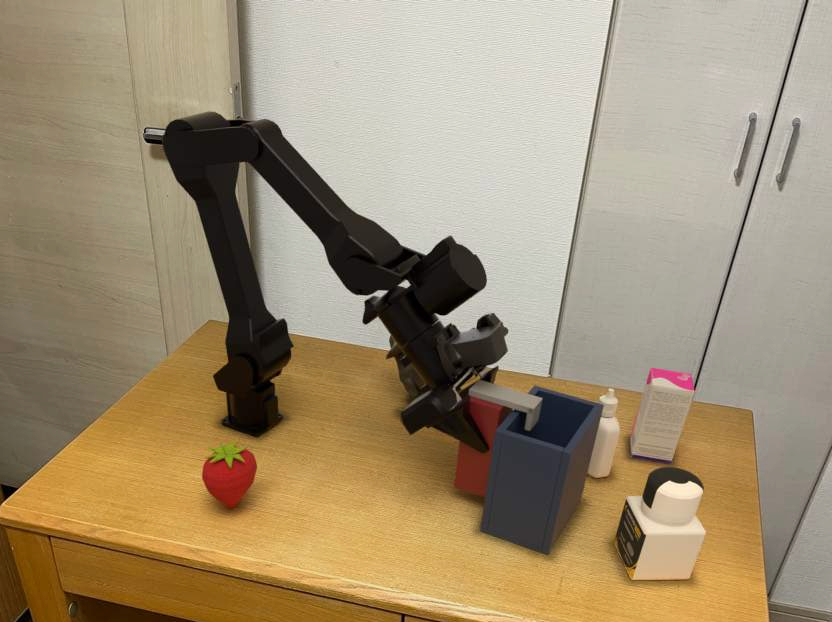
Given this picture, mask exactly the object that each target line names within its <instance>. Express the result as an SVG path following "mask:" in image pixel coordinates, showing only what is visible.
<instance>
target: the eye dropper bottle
mask: <svg viewBox="0 0 832 622" xmlns="http://www.w3.org/2000/svg"><path fill="white" fill-rule="evenodd" d="M597 403H599V404H603V405H604V407H603V411H602V415H601V419H600V423H599V427H598V431H597V436H596V440H595V444H594V448H593V452H592V456H591V460H590V464H589V469H588V473H587V475H589V476H590V477H592V478H595V479H600V478H605V477H609V476H610V473H611V469H612V465H613V461H614V457H615V453H616V450H617V447H618V443H619V438H620V434H621V426H620V423H619V420H618V418H617V417H616V416H615V415H616V412H617V408H618V404H619V399H618V398H617V397H615V389H614V388H608V390H607V392H606V394H603V395H601V396H599V398H598V402H597Z"/></svg>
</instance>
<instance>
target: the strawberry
mask: <svg viewBox="0 0 832 622" xmlns="http://www.w3.org/2000/svg"><path fill="white" fill-rule="evenodd" d="M231 441H232V439H230V440H229V441H228V442H227V443H226V444H223V443H221V442H219V446H220V447H208V448H207V449H208V450H209V451H212V452H213V453H212V454H210V455H207V456H205V457H204V459H206V460H205V461H204V463H203V465H202V470H201V471H202V473H201V479H202V482H203V484H204V486H205V488H206V491H207V492H208V493H209V494H210V495H211V496H212V497H213V498H214V499H215V500H216V501H217V502H219V503H221V504H223V505H224V506H225V507H226V508H229V509H232V508H235V507H236V506H237V505H238V504H239V502H240V501H241V500H242V499H243V498H244V497H245V495H246V494H247V493H248V491H249V490H250V488H251V487H252V486H253V484H254V481H255V477H256V474H257V470H258V463H257V460H256V457H255V455H254V453H253V452H251V451H250V450H249V449H248V448H249V447H248V446H238V445H237V440H235V441H234V442H232V443H230V442H231ZM229 443H230V444H229ZM236 445H237V446H236Z"/></svg>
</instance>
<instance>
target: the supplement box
mask: <svg viewBox="0 0 832 622" xmlns="http://www.w3.org/2000/svg"><path fill="white" fill-rule="evenodd" d="M645 383H646V384H645V386H644V389H643V393H642V395H641V400H640V403H639V406H638V410H637V414H636V415H635V419H634V423H633V427H632V429H631V432H630V435H629V456H630V458H631V459H636V460H644V461H648V462H649V461H650V462H654V463H655V462H656V463H661V464H672V461H673V459H674V455H675V452H676V449H677V447H678V443H679V441H680V439H681V434H682V432H683V429H684V426H685V423H686V421H687V417H688V414H689V411H690V408H691V404H692V402H693V399H694V396H695V393H696V392H695V391H696V390H695V386H694V380H693V376H692V373H688V372H682V371H674V370H668V369H664V368H656V367H650V369H649V373H648V376H647V379H646V382H645Z"/></svg>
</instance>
